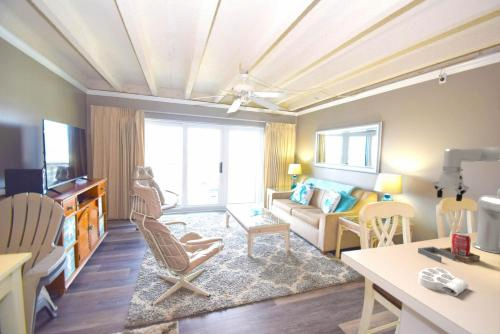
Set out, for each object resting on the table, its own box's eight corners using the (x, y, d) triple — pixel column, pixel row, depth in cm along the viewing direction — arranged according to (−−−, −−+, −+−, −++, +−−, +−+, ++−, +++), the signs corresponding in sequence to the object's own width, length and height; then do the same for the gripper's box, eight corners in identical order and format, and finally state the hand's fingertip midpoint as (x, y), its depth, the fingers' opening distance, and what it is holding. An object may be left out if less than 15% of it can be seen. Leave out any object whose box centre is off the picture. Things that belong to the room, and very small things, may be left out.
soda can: (461, 253, 118) (463, 231, 117) (473, 259, 111) (475, 236, 110) (447, 252, 118) (449, 230, 117) (458, 258, 111) (460, 235, 110)
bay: (432, 250, 121) (432, 246, 121) (455, 260, 111) (455, 255, 111) (417, 252, 118) (418, 248, 118) (439, 262, 108) (440, 257, 108)
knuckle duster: (453, 301, 79) (408, 280, 92) (471, 287, 88) (427, 270, 101) (453, 292, 79) (408, 272, 92) (471, 279, 88) (428, 263, 101)
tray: (453, 251, 122) (454, 246, 121) (479, 260, 111) (479, 256, 111) (439, 252, 119) (439, 248, 118) (464, 263, 108) (464, 258, 108)
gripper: (474, 171, 117) (471, 202, 119) (439, 168, 134) (437, 196, 135) (465, 171, 116) (462, 202, 117) (430, 168, 132) (428, 196, 133)
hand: (448, 199), depth 126 cm, fingers open, 9 cm apart
